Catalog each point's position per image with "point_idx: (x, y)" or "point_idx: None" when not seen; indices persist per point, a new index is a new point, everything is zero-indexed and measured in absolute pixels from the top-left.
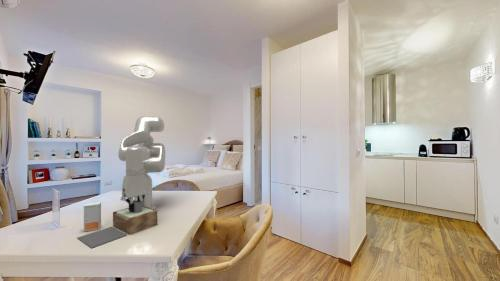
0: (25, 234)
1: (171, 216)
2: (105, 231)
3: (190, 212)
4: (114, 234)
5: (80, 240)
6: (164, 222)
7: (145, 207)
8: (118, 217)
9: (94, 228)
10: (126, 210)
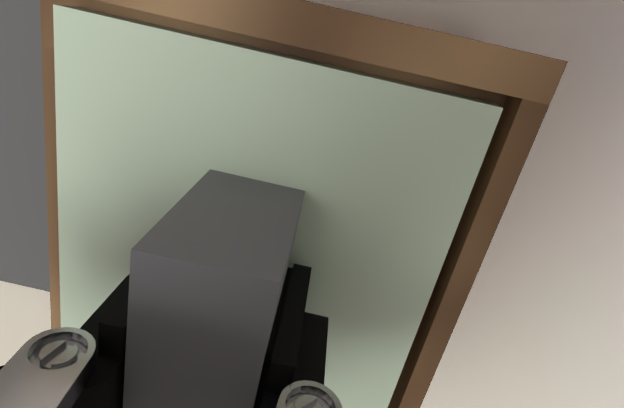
0: None
1: (596, 358)
2: (18, 54)
3: None
4: (43, 209)
5: None
6: (432, 388)
7: (444, 293)
8: (55, 150)
9: None
10: (196, 119)
